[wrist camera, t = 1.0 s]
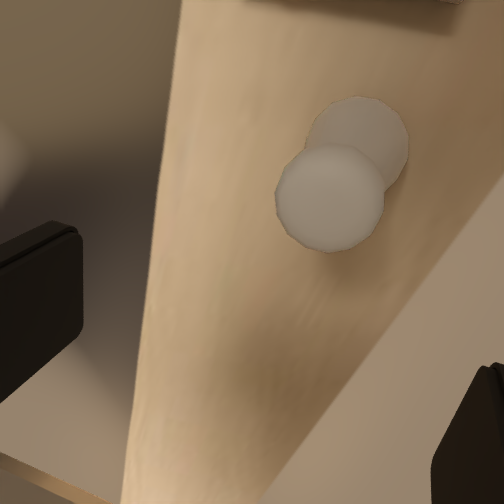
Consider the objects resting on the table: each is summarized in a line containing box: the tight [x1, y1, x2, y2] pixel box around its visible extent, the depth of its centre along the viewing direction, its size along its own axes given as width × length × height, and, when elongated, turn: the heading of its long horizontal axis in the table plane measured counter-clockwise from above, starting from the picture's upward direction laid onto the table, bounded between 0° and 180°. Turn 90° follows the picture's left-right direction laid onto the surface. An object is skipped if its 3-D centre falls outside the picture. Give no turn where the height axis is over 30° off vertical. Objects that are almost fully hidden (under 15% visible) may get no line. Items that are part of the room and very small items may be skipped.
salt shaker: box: [275, 96, 409, 253], centre depth 23 cm, size 6×6×13 cm
